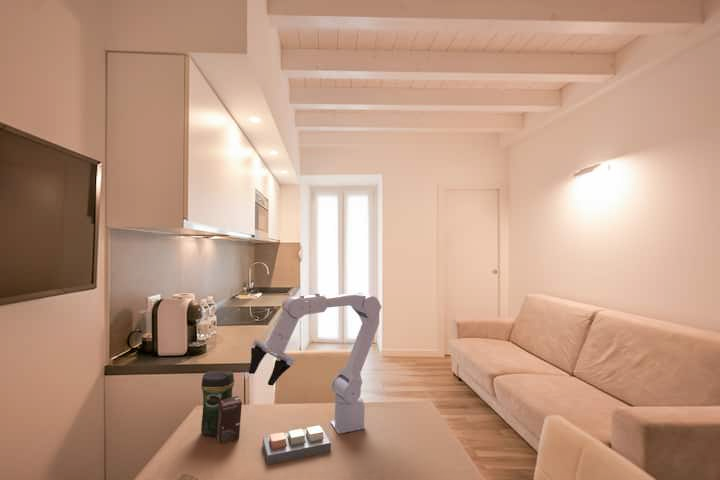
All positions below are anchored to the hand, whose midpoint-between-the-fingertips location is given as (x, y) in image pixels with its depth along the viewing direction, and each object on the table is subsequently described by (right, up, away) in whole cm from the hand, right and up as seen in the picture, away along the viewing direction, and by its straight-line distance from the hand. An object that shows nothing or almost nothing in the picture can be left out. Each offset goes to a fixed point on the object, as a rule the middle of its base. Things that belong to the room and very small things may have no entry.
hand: (260, 379), depth 108 cm
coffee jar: (-16, -20, +10) cm, 28 cm away
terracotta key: (+5, -19, -1) cm, 20 cm away
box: (-11, -20, +6) cm, 24 cm away
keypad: (+10, -21, +1) cm, 23 cm away
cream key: (+15, -19, +3) cm, 25 cm away
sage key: (+10, -19, +1) cm, 22 cm away
